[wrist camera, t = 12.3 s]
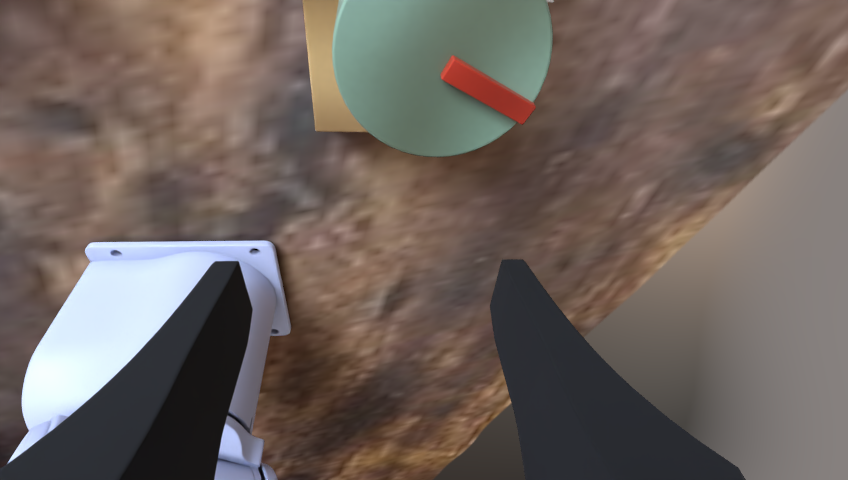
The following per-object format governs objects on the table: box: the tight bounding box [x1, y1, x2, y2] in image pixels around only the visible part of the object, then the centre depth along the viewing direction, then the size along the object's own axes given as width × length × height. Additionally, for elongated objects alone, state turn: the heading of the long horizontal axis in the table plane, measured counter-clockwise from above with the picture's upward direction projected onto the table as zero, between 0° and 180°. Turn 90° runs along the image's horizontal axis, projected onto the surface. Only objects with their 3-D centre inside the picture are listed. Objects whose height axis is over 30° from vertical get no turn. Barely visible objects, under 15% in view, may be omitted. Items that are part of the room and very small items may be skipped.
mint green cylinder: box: [332, 0, 553, 157], centre depth 13 cm, size 5×5×7 cm
